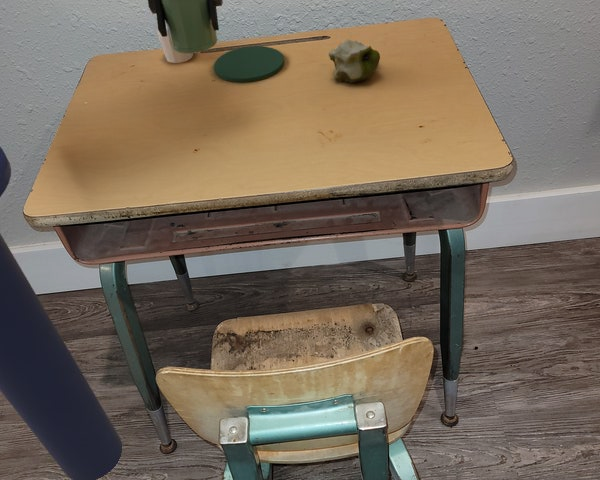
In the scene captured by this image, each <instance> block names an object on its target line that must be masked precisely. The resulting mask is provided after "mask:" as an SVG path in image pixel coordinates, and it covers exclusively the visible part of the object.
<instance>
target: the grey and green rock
mask: <svg viewBox="0 0 600 480" xmlns="http://www.w3.org/2000/svg"><path fill="white" fill-rule="evenodd" d="M328 57H329V60H330V61H332V62H333V65H334V69H335V70H334V73H333V78H334V79H335V80H338V81H340V82H343V83H347V84H350V83H357V82H360V81H364V80H366V79H368V78H369V77H371V76H372V75H373V74H374V72H375V71H376V70H377V68H378V66H379V64H380V59H381V54H380V52H379V50H377V49H373V48H372V46H371V45H368V46H365V45H364V44H363V42H358V41H357V40H351V39H345V40H344V41H343V42H341V43H339V44H338V45H337V48H336V49H331V50H330V51H329V52H328Z"/></svg>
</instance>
